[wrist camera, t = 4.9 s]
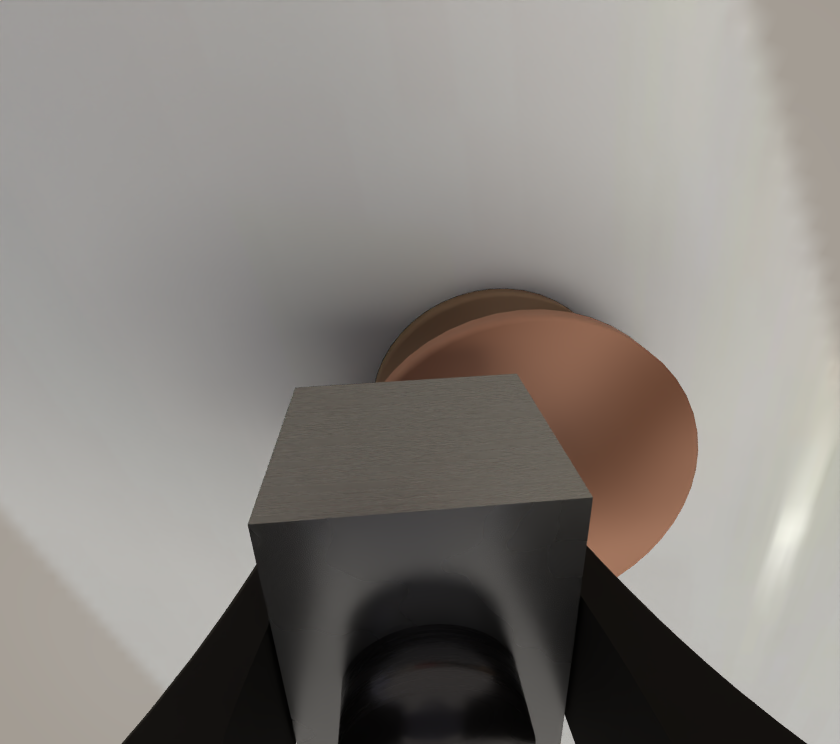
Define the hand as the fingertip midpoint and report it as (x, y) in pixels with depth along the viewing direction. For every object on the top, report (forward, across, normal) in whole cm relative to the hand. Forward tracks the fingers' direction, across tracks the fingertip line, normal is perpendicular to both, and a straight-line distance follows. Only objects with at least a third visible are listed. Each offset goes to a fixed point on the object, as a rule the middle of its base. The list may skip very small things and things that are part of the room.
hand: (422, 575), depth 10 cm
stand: (+9, -3, +1) cm, 10 cm away
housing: (+2, 0, 0) cm, 2 cm away
